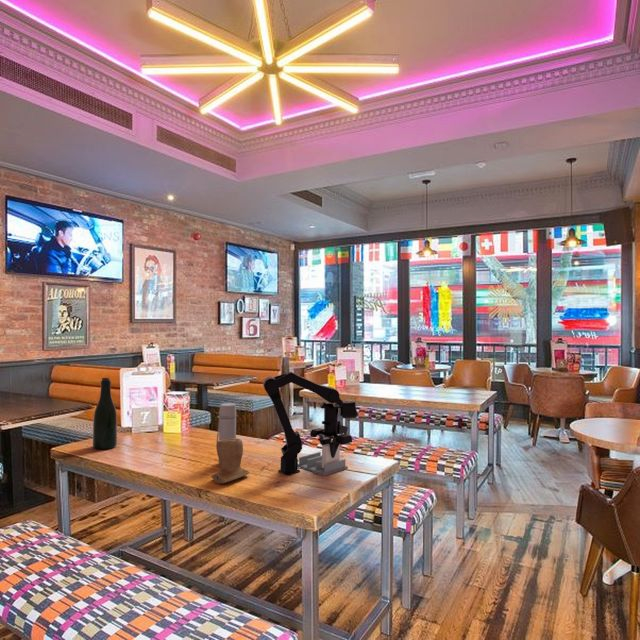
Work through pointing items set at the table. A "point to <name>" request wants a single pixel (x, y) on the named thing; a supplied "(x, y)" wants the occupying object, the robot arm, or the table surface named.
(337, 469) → the dish rack
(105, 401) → the dark wine bottle
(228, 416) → the water bottle
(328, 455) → the beige upright tile
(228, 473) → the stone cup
